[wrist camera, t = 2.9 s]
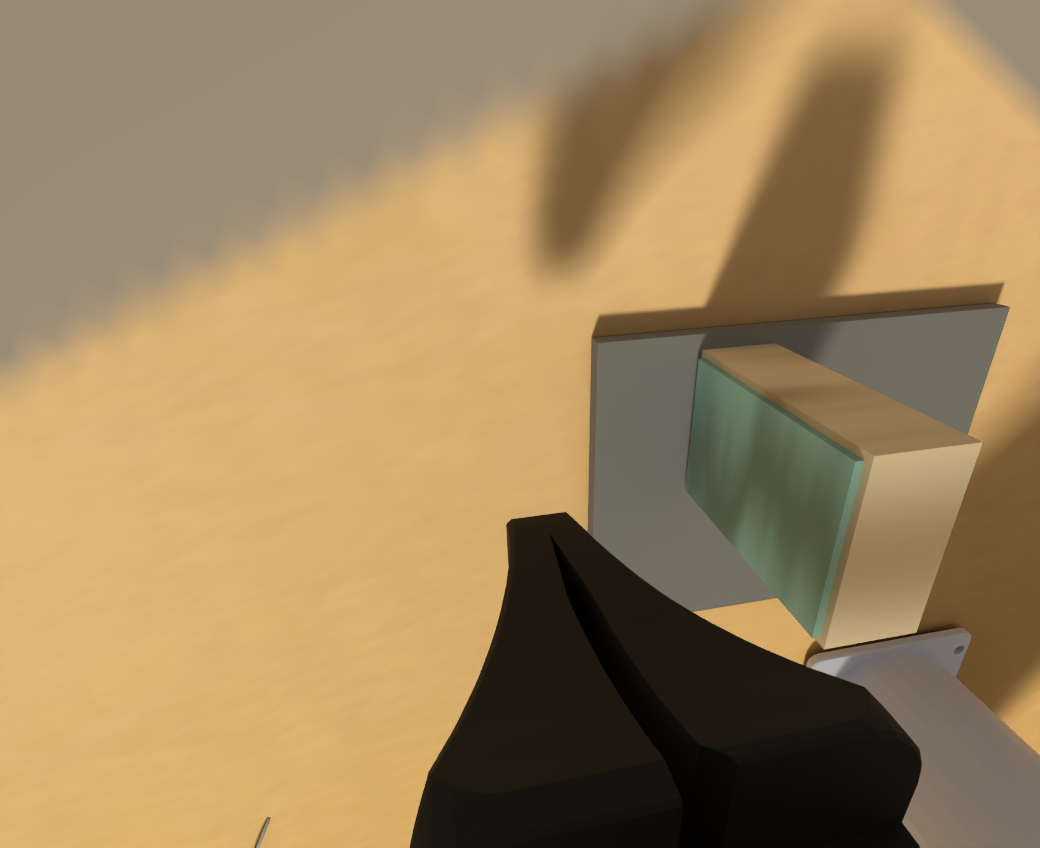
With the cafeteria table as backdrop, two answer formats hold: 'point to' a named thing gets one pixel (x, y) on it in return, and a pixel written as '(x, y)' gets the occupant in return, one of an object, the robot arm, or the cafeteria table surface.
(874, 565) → the green-faced wooden block
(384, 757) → the cafeteria table surface
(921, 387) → the rubber mat
